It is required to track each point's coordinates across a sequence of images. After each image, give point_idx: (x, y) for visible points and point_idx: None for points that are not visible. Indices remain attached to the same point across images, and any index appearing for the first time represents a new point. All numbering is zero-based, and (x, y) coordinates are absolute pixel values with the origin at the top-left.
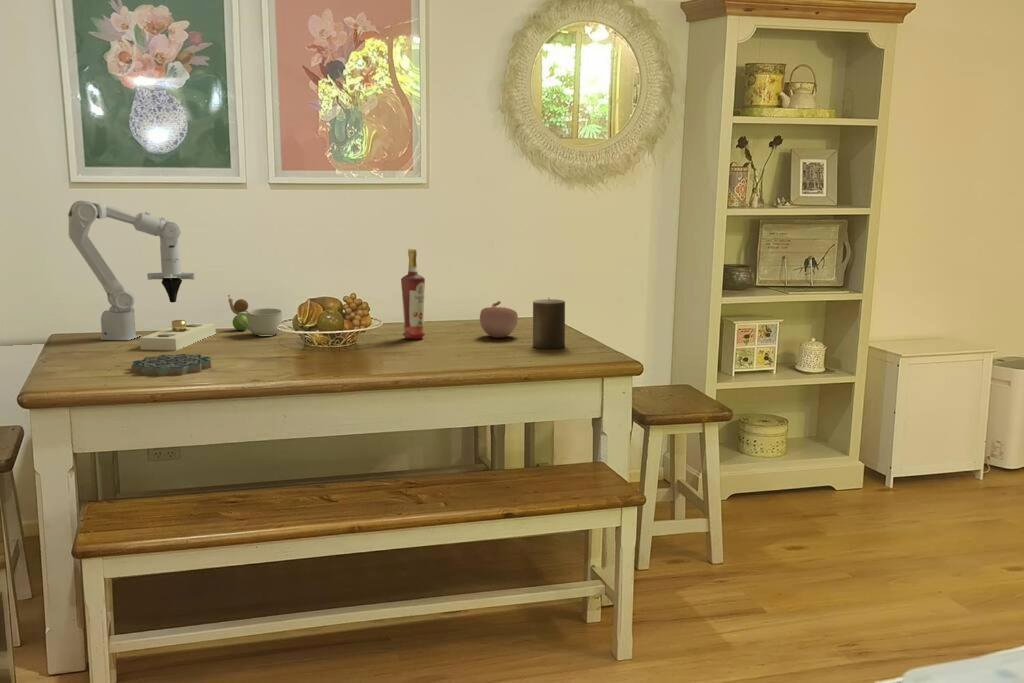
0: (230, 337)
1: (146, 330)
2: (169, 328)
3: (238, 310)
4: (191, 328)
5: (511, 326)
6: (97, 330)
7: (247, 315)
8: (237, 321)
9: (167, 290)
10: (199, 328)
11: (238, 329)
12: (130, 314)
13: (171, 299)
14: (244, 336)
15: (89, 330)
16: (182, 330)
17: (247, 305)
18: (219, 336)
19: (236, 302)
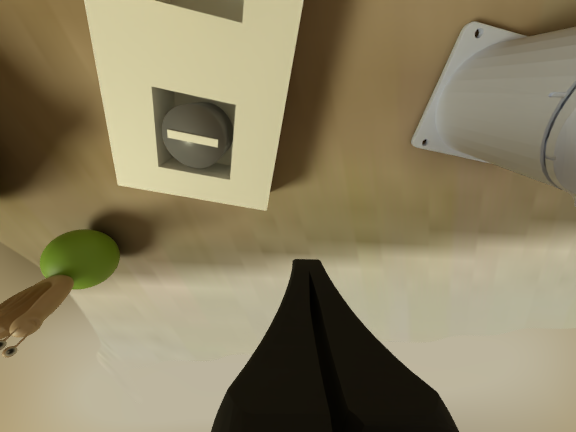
0: (47, 104)
1: (399, 258)
2: (281, 51)
3: (41, 285)
4: (158, 42)
5: None
6: (539, 264)
7: None
8: (70, 241)
9: (348, 321)
10: (111, 38)
11: (98, 231)
12: (564, 67)
13: (310, 268)
14: (6, 126)
15: (561, 265)
16: None
17: None
18: None
19: (11, 316)
